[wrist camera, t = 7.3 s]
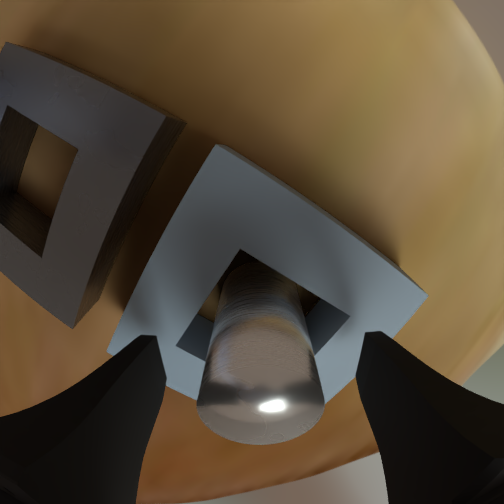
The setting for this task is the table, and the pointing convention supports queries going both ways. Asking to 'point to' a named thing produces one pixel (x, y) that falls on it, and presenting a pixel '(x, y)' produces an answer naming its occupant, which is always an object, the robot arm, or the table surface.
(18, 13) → the table surface
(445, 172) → the table surface
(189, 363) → the block
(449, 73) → the table surface
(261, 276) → the aluminium peg
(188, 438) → the table surface
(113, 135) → the charcoal stand
